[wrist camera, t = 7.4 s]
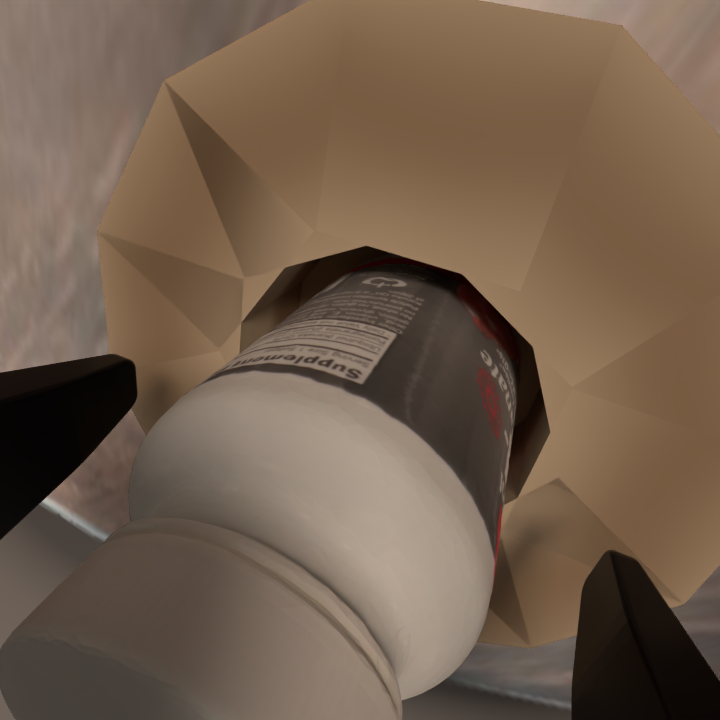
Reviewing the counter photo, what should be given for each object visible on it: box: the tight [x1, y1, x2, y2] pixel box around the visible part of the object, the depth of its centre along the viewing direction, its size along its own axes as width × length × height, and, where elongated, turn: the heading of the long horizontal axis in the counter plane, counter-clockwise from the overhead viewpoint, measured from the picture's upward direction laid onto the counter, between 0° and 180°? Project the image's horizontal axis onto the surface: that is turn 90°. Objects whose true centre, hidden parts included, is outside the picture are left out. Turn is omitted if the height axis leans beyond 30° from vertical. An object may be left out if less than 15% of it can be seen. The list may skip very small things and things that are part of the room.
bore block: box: [97, 0, 720, 648], centre depth 12 cm, size 14×14×4 cm
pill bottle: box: [0, 253, 521, 720], centre depth 9 cm, size 5×5×10 cm
